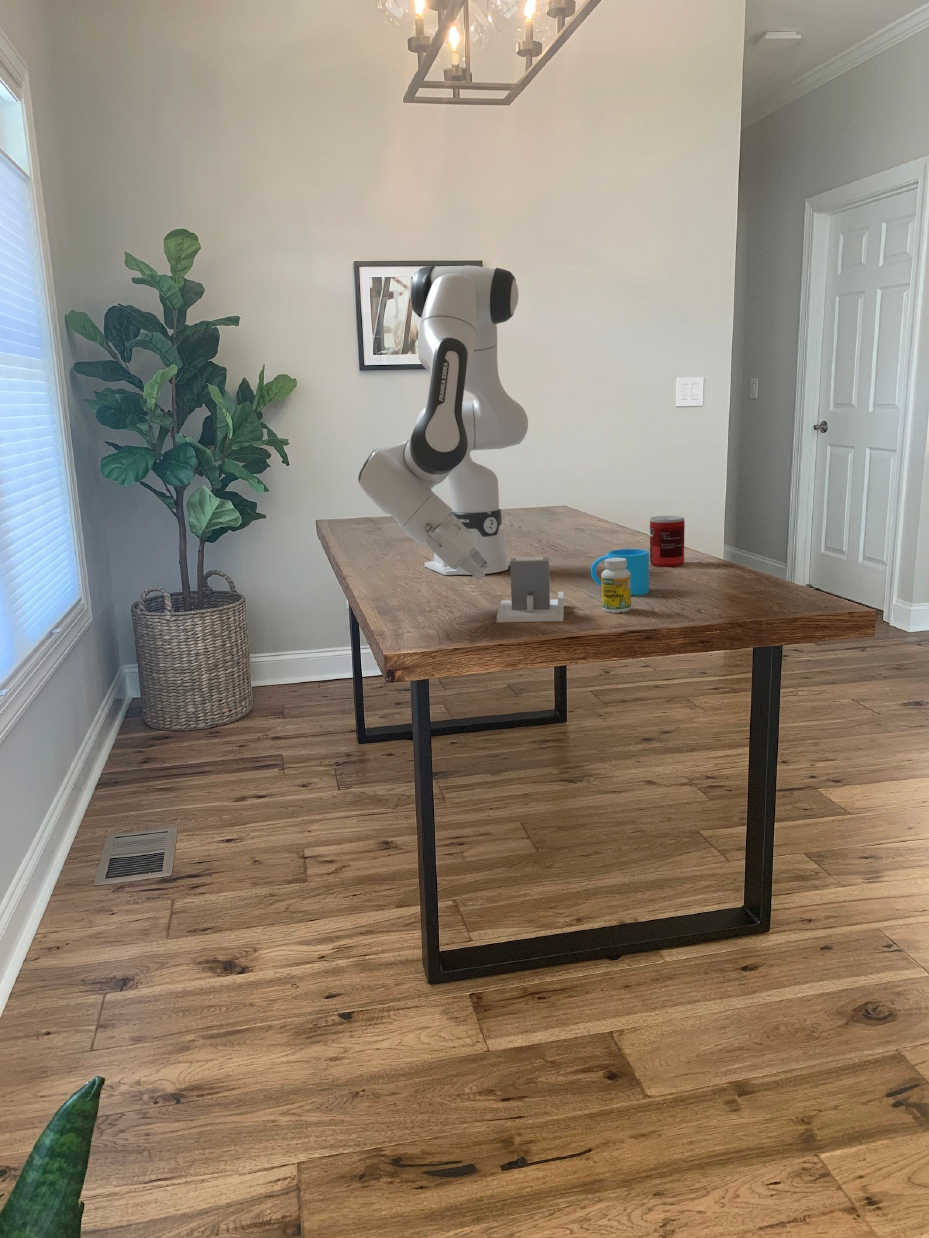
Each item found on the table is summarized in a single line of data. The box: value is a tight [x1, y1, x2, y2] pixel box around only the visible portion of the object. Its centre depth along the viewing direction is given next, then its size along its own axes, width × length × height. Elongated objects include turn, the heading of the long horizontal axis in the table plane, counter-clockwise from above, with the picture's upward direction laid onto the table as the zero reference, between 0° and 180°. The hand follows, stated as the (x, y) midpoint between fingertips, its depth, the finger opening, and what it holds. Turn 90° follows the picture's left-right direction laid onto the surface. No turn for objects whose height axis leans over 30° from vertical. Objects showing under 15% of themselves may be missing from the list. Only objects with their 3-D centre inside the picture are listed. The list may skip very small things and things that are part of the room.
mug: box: [590, 548, 650, 596], centre depth 187 cm, size 12×8×8 cm
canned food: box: [649, 515, 686, 568], centre depth 213 cm, size 8×8×11 cm
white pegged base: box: [496, 591, 565, 623], centre depth 172 cm, size 12×13×4 cm
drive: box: [509, 556, 551, 610], centre depth 171 cm, size 7×4×9 cm, turn 84°
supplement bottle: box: [600, 558, 632, 614], centre depth 171 cm, size 5×5×10 cm
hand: (484, 572), depth 172 cm, fingers open, 8 cm apart
